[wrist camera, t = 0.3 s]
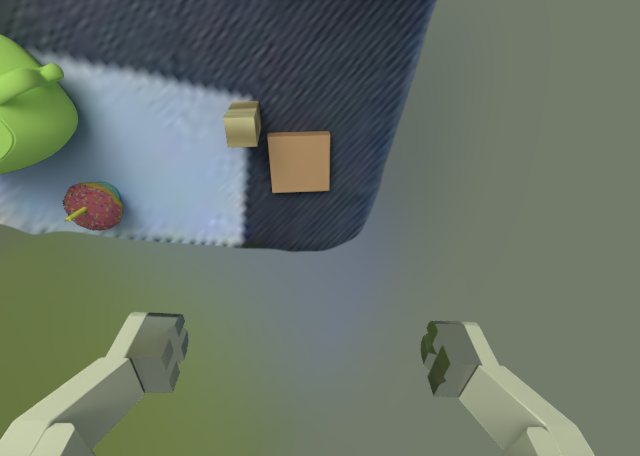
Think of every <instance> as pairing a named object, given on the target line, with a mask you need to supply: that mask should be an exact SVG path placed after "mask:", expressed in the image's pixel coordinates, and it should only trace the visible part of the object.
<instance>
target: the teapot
mask: <svg viewBox="0 0 640 456" xmlns="http://www.w3.org/2000/svg"><path fill="white" fill-rule="evenodd" d="M63 78H64V73H63V71H62V69H61V68H60V67H59V66H58V65H57V64H55V63H50V64H48V65H46V66H43V67H42V66H41V65H40V64H39V63H38V61H37V60H36V59H35V58H34V57H33V56H32V55H30V54H29V53H28V52H27V51H26V50H25V49H24V48H23V47H21V46H20V45H18V44H17V43H16V42H14V41H13V40H11V39H9V38H7V37H5V36H3V35H0V174H3V173H8V172H12V171H16V170H19V169H22V168H25V167H28V166H31V165H33V164H36V163H38V162H40V161H42V160H44V159H46V158H48V157H50V156H51V155H53V154H54V153H56V152H57V151H59V150H60V149H61V148H62V147H63V146H64V145H65V144H66V143H67V142H68V140H69V139H70V138H71V136H72V135H73V134H74V132H75V130H76V128H77V125H78V114H77V110H76V108H75V106H74V104H73V103H72V101H71V100H70V98H69V97H68V96H67V94H66V93H65V92H64V91H63V89H62V88H61V87H60V86H59V84H58V83H57V82H58V81H60V80H61V79H63Z"/></svg>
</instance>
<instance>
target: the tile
mask: <svg viewBox="0 0 640 456" xmlns="http://www.w3.org/2000/svg"><path fill="white" fill-rule="evenodd" d="M268 148H269V159H270V170H271V181H272V192H273V193H281V192H307V191H329V174H330V133H329V131H315V132H279V133H268Z"/></svg>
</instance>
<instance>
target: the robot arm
mask: <svg viewBox="0 0 640 456" xmlns="http://www.w3.org/2000/svg"><path fill="white" fill-rule="evenodd" d="M184 322H185V320H184V317H183V315H182V314H166V313H148V312H133V313H131V314H130V315H129V316H128V318H127V320H126V321H125V323H124V325H123V327H122V328H121V330H120V332H119V334H118V336H117V337H116V339H115V341H114V343H113V345H112V346H111V348H110V350H109V352H108V353H107V355H106V357H105V358H99V359H98V360H96V361H95V362H94V363H92V364H91V365H89V366H88V367H87V368H85V369H84V370H83V371H81V372H80V373H78V374H77V375H76V376H74V377H73V378H72V379H70V380H69V381H68V382H66V383H65V384H63V385H62V386H61V387H59V388H58V389H57V390H55V391H54V392H52V393H51V394H50V395H49V396H47V397H46V398H44V399H43V400H42V401H40V402H39V403H37V404H36V405H35V406H33V407H32V408H31V409H29V410H28V411H27V412H25V413H24V414H22V415H21V416H20V417H18V418H17V419H16V420H14V421H13V422H12V424H11V425H10V427H9V428H8V430H7V431H6V432H5V434H4V435H3V437H2V438H1V440H0V456H96V455H95V453H94V452H93V451H92V449H93V448H94V447H95V445H97V444H98V442H100V441H101V439H102V438H103V437H104V436H105V435H106V434H107V433H108V432H109V431H110V430H111V429H112V428H113V427H114V426H115V425H116V424H117V423H118V422H119V421H120V420H121V418H123V417H124V416H125V414H126V413H127V412H128V411H129V410H130V409H131V408H132V407H133V406H134V405H135V404H136V403H137V402H138V401H139V400H140V399H141V398H142V397H143V396H144V393H166V392H167V393H169V392H173V391H174V388H175V385H176V382H177V379H178V376H179V373H180V371H179V368H178V364H179V363H181V361H183V360H184V358H185V355H186V352H187V347H188V332H187V330H186V329H185V328H183V325H184ZM427 331H428V333H427V334H426V335H424V336H423V338H422V341H421V356H422V360H423V364H424V365H425V366H426V367H427V368H428V369H429V370H430V372H429V375H428V380H429V383H430V386H431V389H432V393H433V396H442V397H444V396H445V397H459V400H460V401H461V402H462V403H463V404H464V405H465V406H466V408H467V409H468V410H469V411H470V412H471V413H472V415H473V416H474V417H475V418H476V419H477V420H478V422H479V423H480V424H481V425H482V426H483V428H484V429H485V430H486V431H487V432H488V433H489V435H490V436H491V437H492V438H493V439H494V440H495V442H496V443H497V444H498V445H499V446H500V447H501V449H502V450H503V451H504V452H505V453H504V454H503V455H502V456H595V455H594V454H593V452H592V450H591V449H590V447H589V445H588V444H587V442H586V441H585V439H584V437H583V436H582V434H581V432H580V431H579V429H578V428H577V426H576V425H575V424H573V423H572V422H571V421H570V420H569V419H567V418H566V417H565V416H564V415H562V414H561V413H560V412H559V411H557V410H556V409H555V408H554V407H553V406H552V405H550V404H549V403H548V402H546V401H545V400H544V399H543V398H542V397H541V396H539V395H538V394H537V393H536V392H535V391H533V390H532V389H531V388H530V387H529V386H527V385H526V384H525V383H524V382H522V381H521V380H520V379H519V378H518V377H516V376H515V375H514V374H513V373H512V372H510V371H509V370H508V369H506V367H504V366H499V364H498V362H497V360H496V358H495V356H494V354H493V352H492V351H491V349H490V347H489V345H488V343H487V341H486V339H485V337H484V335H483V333H482V331H481V329H480V327H479V325H478V324H477V323H475V322H458V321H431V322H429V324H428V326H427Z"/></svg>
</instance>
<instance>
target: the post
mask: <svg viewBox="0 0 640 456" xmlns="http://www.w3.org/2000/svg"><path fill="white" fill-rule="evenodd" d="M223 120H224V126H225V132H226V138H227V144H228V148H229V147H257V145H258V140H259V135H260V131H261V119H260V110H259V101H249V102H232V104H231V106H230V107H229V109H228V111H227V113H226V114H225V116H224V118H223Z"/></svg>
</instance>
